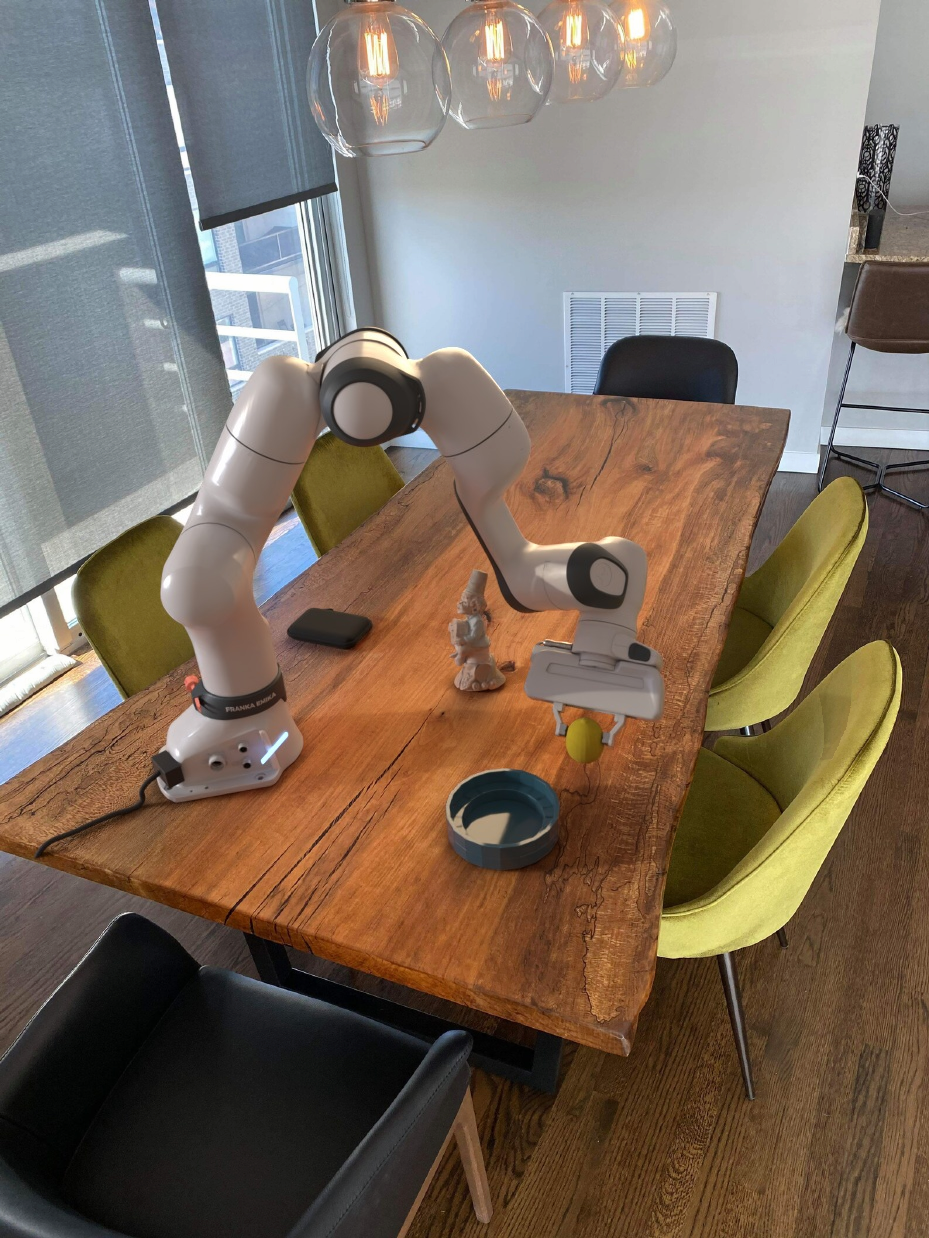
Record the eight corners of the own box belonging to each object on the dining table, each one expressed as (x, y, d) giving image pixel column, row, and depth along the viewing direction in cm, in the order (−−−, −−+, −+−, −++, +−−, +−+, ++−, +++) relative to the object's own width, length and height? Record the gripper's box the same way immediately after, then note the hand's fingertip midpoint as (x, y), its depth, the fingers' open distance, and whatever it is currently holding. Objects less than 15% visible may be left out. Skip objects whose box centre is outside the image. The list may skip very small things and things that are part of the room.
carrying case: (380, 625, 172) (313, 613, 178) (378, 611, 171) (311, 600, 176) (352, 655, 164) (283, 641, 170) (350, 641, 163) (281, 627, 168)
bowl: (474, 887, 116) (472, 862, 114) (431, 813, 128) (429, 788, 126) (580, 849, 121) (580, 823, 118) (528, 780, 133) (528, 756, 130)
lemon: (606, 753, 135) (607, 709, 131) (600, 777, 130) (601, 733, 126) (569, 748, 136) (569, 705, 132) (562, 772, 132) (562, 728, 128)
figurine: (494, 662, 159) (489, 561, 149) (511, 688, 152) (506, 584, 142) (445, 674, 157) (436, 571, 147) (460, 700, 150) (451, 595, 140)
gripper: (530, 632, 134) (509, 724, 131) (670, 654, 127) (651, 752, 124) (540, 641, 140) (521, 730, 137) (674, 664, 132) (656, 757, 130)
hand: (584, 741), depth 131 cm, fingers closed on lemon, 5 cm apart
